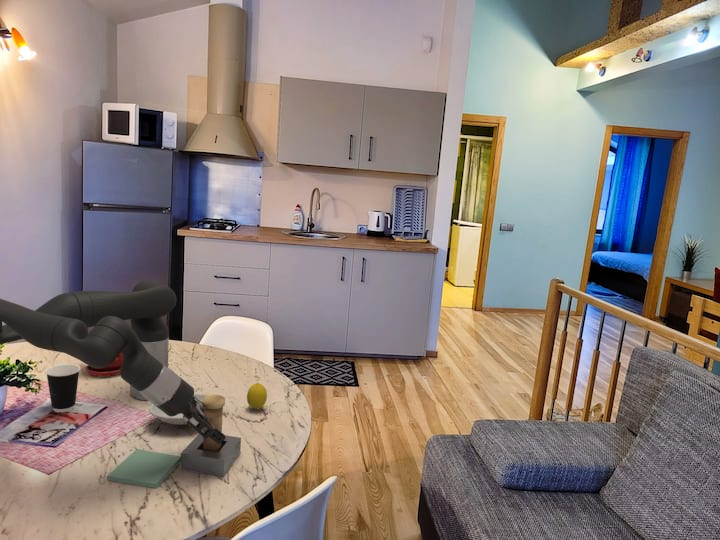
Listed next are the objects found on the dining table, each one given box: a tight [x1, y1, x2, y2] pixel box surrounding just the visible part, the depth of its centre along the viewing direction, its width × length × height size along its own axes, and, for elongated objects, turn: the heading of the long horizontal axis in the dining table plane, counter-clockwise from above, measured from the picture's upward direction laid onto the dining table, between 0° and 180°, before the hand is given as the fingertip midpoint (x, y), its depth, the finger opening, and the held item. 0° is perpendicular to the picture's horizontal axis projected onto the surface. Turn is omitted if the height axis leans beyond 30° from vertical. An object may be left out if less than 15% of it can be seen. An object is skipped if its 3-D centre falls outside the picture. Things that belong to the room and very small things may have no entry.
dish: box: [148, 393, 210, 426], centre depth 132 cm, size 18×14×5 cm
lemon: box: [246, 382, 268, 410], centre depth 142 cm, size 6×6×8 cm
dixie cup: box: [45, 363, 81, 413], centre depth 133 cm, size 8×8×11 cm
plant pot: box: [85, 352, 123, 377], centre depth 159 cm, size 13×13×12 cm
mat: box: [106, 448, 181, 489], centre depth 110 cm, size 11×11×1 cm
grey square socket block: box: [180, 433, 242, 477], centre depth 115 cm, size 10×10×4 cm
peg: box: [203, 394, 226, 453], centre depth 114 cm, size 5×5×15 cm
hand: (218, 431), depth 115 cm, fingers open, 8 cm apart
